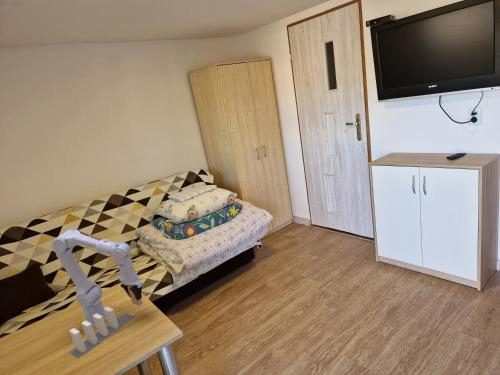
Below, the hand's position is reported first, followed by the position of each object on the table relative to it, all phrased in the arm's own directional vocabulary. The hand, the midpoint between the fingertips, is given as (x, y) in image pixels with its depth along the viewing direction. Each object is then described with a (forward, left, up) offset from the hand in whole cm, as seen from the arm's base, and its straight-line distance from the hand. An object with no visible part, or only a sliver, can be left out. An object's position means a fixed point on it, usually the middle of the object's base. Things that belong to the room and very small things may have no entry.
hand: (135, 297), depth 152 cm
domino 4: (-6, -10, -9) cm, 15 cm away
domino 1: (-6, -25, -9) cm, 28 cm away
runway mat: (-6, -15, -10) cm, 19 cm away
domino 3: (-6, -15, -9) cm, 19 cm away
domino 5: (0, 0, -3) cm, 3 cm away
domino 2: (-6, -20, -9) cm, 23 cm away
